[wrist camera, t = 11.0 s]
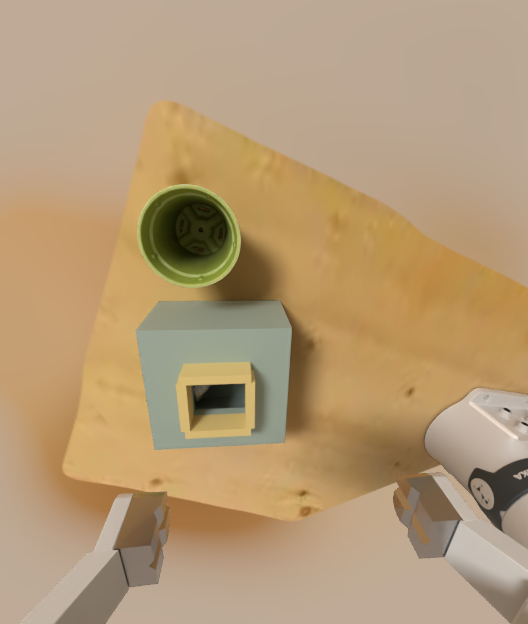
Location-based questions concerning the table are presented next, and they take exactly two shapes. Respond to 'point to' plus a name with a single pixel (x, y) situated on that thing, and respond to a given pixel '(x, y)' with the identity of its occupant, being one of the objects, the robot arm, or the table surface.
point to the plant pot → (188, 236)
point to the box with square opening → (216, 372)
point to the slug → (201, 391)
